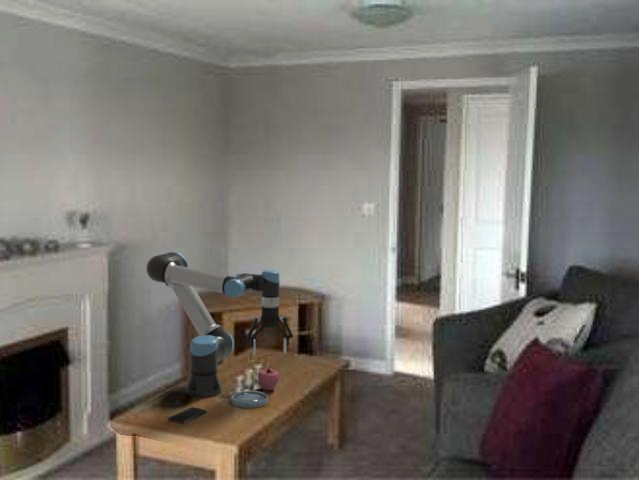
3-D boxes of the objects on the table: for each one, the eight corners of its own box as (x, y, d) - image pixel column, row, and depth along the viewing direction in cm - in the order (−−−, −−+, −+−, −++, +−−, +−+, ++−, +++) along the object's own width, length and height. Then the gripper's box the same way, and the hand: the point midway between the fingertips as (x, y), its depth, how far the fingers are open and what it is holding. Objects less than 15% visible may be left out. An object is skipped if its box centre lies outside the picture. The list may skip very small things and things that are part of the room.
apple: (282, 390, 296) (283, 368, 295) (267, 394, 290) (267, 371, 289) (269, 384, 303) (269, 363, 302) (253, 388, 297) (254, 366, 296)
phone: (207, 410, 266) (183, 422, 253) (207, 413, 267) (183, 425, 253) (192, 406, 270) (166, 418, 257) (192, 409, 270) (166, 420, 257)
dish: (233, 408, 272) (234, 403, 271) (229, 396, 286) (229, 391, 286) (270, 406, 275) (270, 401, 275) (264, 394, 290) (265, 390, 289)
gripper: (242, 308, 286) (242, 357, 288) (300, 307, 292) (299, 355, 294) (240, 305, 293) (239, 352, 295) (296, 303, 299) (295, 350, 301)
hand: (269, 354), depth 295 cm, fingers open, 13 cm apart
